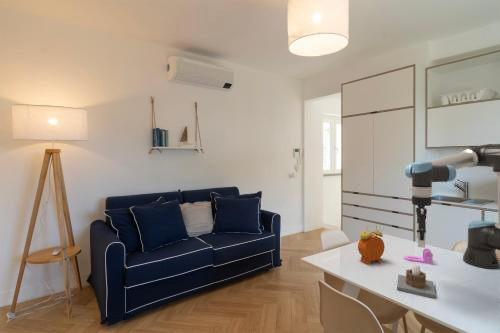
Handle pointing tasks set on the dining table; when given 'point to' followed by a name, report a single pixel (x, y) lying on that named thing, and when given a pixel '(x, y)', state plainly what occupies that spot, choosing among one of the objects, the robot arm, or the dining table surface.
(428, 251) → the bracket
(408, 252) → the dining table surface
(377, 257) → the alarm clock
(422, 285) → the collar
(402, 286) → the post
